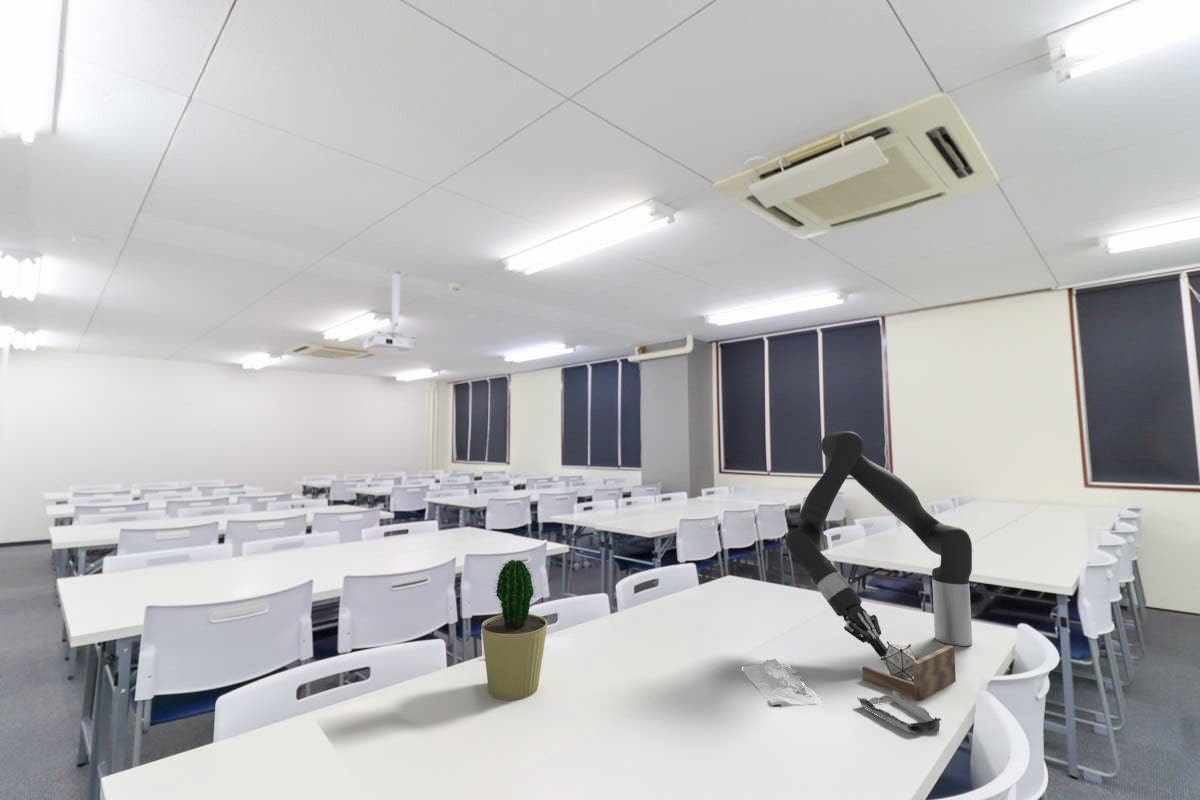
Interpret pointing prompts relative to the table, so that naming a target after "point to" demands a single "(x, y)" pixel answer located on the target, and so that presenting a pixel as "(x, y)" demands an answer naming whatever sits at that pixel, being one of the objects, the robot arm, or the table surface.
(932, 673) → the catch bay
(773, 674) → the terrain model
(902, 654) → the game die
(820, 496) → the robot arm
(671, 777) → the table surface
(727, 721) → the table surface
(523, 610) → the potted cactus
